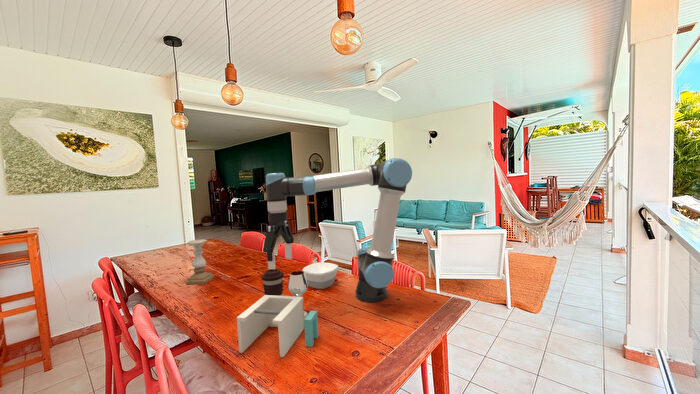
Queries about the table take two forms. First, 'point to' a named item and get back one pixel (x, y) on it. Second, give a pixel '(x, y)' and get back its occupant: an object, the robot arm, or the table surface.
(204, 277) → the candle holder
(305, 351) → the table surface
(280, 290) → the coffee cup
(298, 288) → the wineglass
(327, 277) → the bowl
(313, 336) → the teal u-shaped bracket
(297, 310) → the white c-frame
